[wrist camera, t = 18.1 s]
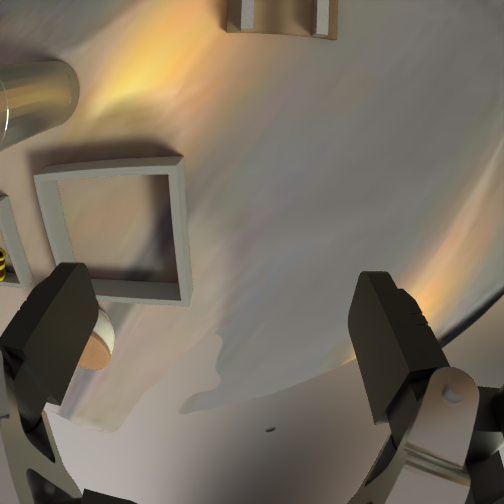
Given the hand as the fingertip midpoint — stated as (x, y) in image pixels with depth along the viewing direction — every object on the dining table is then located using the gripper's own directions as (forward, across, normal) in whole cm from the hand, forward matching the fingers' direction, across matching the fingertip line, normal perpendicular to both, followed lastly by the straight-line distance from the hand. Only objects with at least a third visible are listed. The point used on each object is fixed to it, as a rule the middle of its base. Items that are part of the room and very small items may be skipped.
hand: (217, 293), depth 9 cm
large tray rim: (+30, +17, +14) cm, 37 cm away
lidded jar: (+30, +26, +32) cm, 51 cm away
